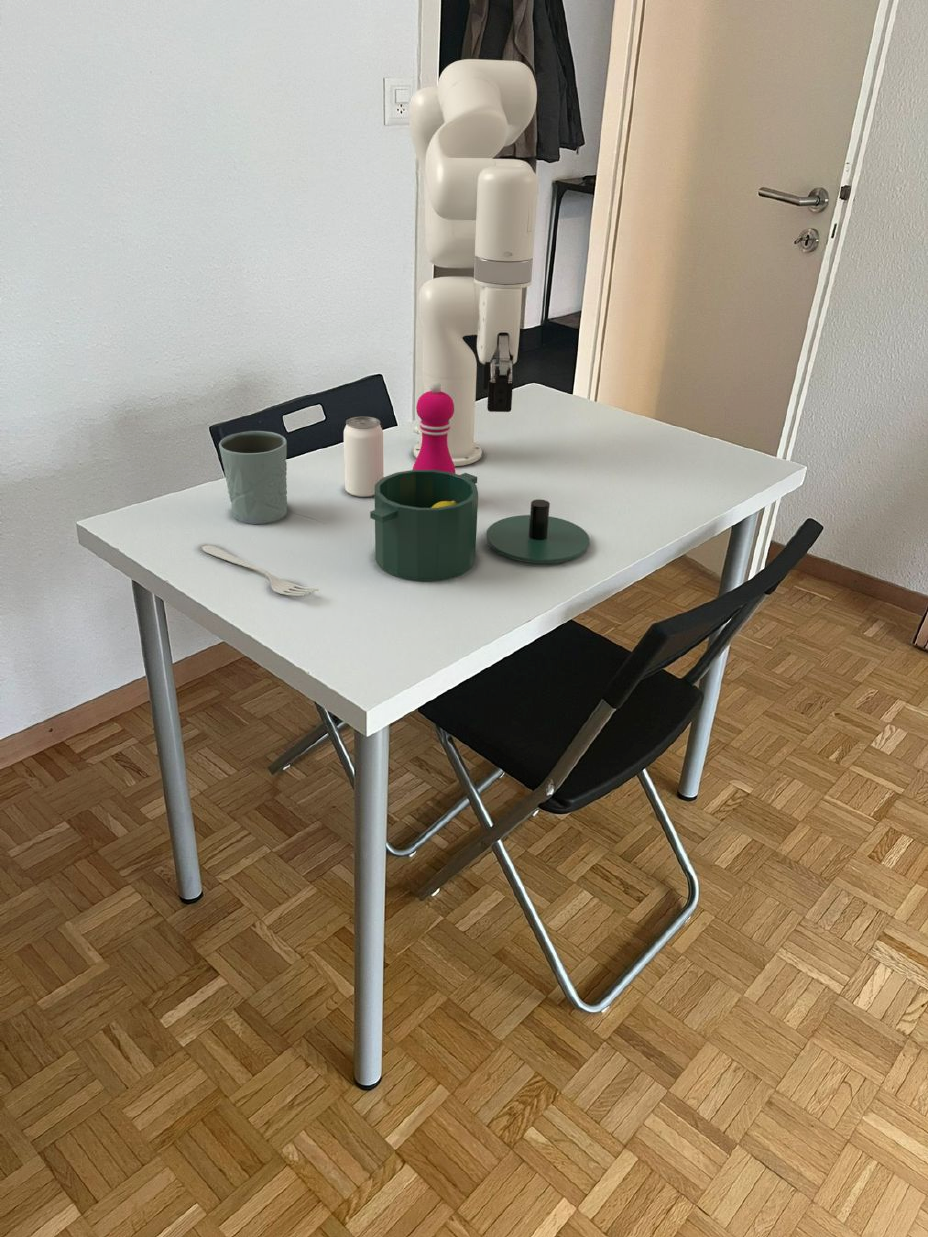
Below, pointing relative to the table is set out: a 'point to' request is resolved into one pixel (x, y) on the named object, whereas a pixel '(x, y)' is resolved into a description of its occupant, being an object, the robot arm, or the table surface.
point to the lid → (537, 536)
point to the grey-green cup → (256, 475)
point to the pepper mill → (434, 430)
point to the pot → (425, 524)
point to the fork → (276, 583)
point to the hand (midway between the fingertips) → (496, 399)
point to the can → (363, 455)
